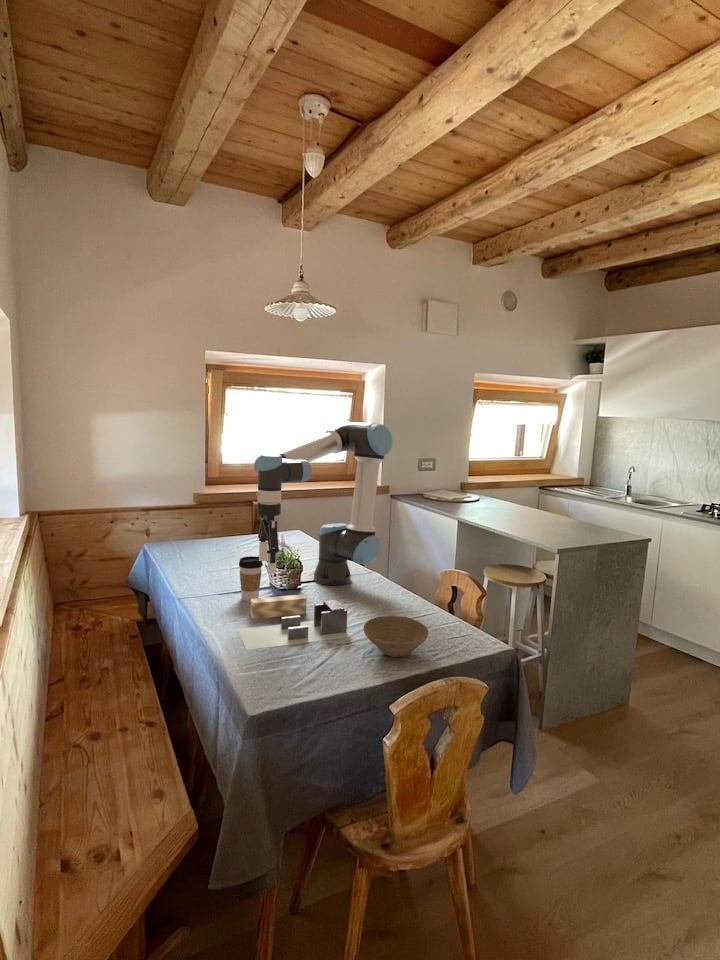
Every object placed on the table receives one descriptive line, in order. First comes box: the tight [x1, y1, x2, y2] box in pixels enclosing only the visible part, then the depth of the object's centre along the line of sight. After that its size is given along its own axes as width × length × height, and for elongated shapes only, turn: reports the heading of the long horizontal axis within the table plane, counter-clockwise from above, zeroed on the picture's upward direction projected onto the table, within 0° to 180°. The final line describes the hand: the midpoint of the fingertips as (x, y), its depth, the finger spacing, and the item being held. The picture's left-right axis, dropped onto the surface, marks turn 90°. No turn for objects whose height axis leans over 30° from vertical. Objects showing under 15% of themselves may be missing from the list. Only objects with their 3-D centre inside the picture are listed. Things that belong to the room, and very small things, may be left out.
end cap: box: [313, 599, 348, 635], centre depth 167 cm, size 8×8×8 cm
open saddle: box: [280, 614, 308, 640], centre depth 163 cm, size 6×9×4 cm, turn 23°
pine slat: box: [249, 594, 308, 620], centre depth 177 cm, size 18×4×6 cm, turn 112°
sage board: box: [237, 620, 352, 651], centre depth 163 cm, size 32×15×1 cm, turn 112°
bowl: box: [363, 615, 429, 658], centre depth 152 cm, size 18×18×8 cm
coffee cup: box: [238, 556, 264, 602], centre depth 190 cm, size 8×8×15 cm
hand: (267, 566), depth 174 cm, fingers open, 13 cm apart
